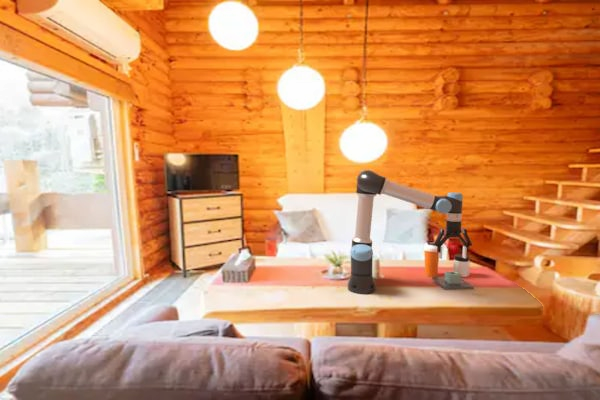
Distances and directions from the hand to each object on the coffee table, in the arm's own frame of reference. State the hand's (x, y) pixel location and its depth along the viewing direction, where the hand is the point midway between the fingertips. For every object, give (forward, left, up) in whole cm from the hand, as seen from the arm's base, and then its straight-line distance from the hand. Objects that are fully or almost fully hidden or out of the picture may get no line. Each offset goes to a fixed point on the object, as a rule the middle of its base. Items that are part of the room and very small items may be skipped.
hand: (452, 258), depth 182 cm
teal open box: (0, 0, -14) cm, 14 cm away
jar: (+13, +15, -15) cm, 25 cm away
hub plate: (0, 0, -15) cm, 15 cm away
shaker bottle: (-5, +16, -15) cm, 23 cm away
